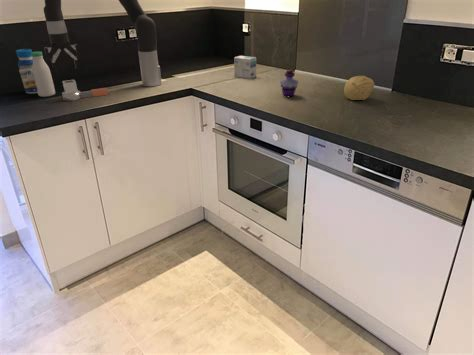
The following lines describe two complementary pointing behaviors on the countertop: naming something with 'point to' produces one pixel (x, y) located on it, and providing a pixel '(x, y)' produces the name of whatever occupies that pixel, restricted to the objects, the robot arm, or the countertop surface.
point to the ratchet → (84, 94)
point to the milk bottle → (42, 75)
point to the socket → (70, 86)
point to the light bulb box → (245, 67)
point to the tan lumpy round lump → (358, 88)
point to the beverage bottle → (26, 70)
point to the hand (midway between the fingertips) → (66, 69)
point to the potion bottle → (289, 84)
